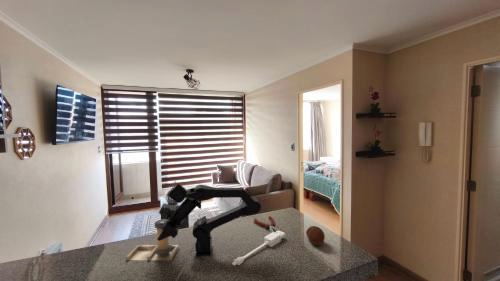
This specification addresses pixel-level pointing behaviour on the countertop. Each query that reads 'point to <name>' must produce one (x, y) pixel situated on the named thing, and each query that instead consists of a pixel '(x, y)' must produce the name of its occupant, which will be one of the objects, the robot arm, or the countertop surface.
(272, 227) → the pliers
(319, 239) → the potato
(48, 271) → the countertop surface
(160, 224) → the bobbin
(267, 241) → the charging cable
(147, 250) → the divided tray
